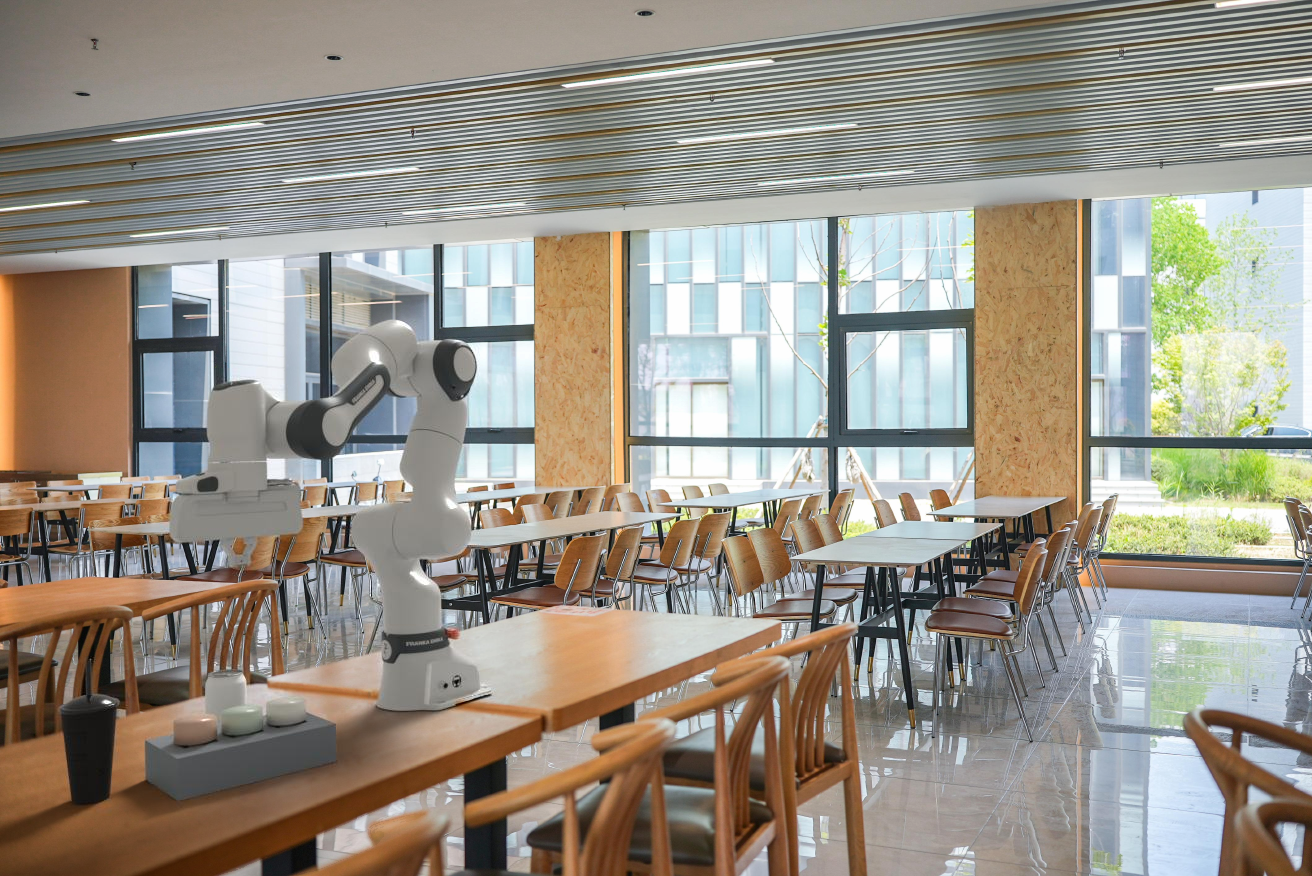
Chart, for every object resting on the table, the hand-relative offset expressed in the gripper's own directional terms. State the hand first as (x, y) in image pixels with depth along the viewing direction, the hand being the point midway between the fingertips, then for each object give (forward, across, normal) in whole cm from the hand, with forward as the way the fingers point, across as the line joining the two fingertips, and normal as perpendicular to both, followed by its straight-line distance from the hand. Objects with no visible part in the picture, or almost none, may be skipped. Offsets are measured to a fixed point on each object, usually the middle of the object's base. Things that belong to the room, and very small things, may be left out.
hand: (239, 566), depth 161 cm
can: (+31, -2, -12) cm, 34 cm away
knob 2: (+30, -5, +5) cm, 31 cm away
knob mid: (+30, +2, +5) cm, 31 cm away
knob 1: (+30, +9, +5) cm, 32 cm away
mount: (+31, +2, +5) cm, 32 cm away
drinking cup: (+31, +22, +1) cm, 38 cm away
